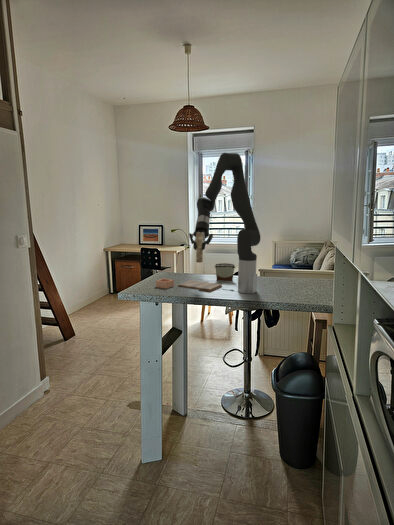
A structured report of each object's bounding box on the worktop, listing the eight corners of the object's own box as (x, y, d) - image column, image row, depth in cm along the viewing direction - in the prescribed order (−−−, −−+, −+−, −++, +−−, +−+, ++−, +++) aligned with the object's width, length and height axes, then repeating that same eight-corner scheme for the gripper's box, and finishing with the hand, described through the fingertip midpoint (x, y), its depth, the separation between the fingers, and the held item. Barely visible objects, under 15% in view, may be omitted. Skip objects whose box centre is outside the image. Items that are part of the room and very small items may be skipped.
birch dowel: (203, 261, 194) (204, 232, 191) (200, 262, 191) (201, 233, 188) (198, 261, 196) (198, 232, 193) (194, 262, 193) (195, 232, 190)
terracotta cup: (173, 286, 196) (173, 279, 195) (166, 289, 190) (166, 282, 189) (163, 285, 200) (163, 278, 199) (155, 287, 193) (155, 280, 193)
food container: (234, 279, 218) (235, 263, 216) (234, 281, 212) (235, 265, 210) (214, 278, 219) (215, 262, 217) (214, 280, 213) (214, 264, 211)
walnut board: (221, 286, 198) (221, 284, 198) (210, 292, 186) (210, 289, 185) (190, 282, 207) (190, 280, 207) (177, 287, 195) (177, 284, 195)
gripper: (189, 220, 198) (185, 244, 188) (214, 220, 196) (211, 245, 186) (191, 229, 204) (186, 252, 194) (215, 229, 202) (212, 253, 192)
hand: (198, 249), depth 190 cm, fingers closed on birch dowel, 3 cm apart
